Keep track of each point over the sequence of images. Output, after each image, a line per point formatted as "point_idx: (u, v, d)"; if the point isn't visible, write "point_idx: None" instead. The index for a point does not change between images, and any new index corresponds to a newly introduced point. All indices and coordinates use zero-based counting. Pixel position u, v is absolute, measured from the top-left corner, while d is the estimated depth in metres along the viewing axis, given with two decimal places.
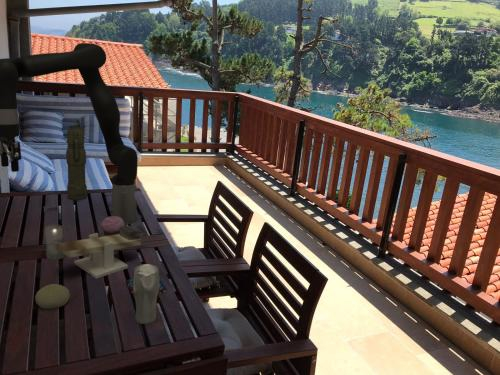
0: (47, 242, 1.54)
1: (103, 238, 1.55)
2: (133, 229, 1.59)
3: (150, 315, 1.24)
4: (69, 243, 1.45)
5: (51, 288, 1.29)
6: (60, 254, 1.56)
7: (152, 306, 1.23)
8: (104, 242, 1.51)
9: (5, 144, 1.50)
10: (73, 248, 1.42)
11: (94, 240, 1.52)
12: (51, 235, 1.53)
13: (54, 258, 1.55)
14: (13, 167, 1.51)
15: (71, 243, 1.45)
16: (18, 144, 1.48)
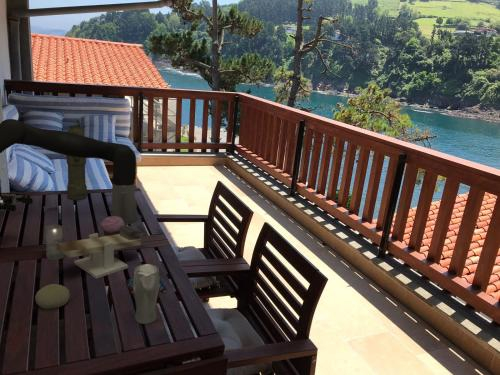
0: (47, 242, 1.54)
1: (103, 238, 1.55)
2: (133, 229, 1.59)
3: (150, 315, 1.24)
4: (69, 243, 1.45)
5: (51, 288, 1.29)
6: (60, 254, 1.56)
7: (152, 306, 1.23)
8: (104, 242, 1.51)
9: None
10: (73, 248, 1.42)
11: (94, 240, 1.52)
12: (51, 235, 1.53)
13: (54, 258, 1.55)
14: (9, 210, 1.51)
15: (71, 243, 1.45)
16: None
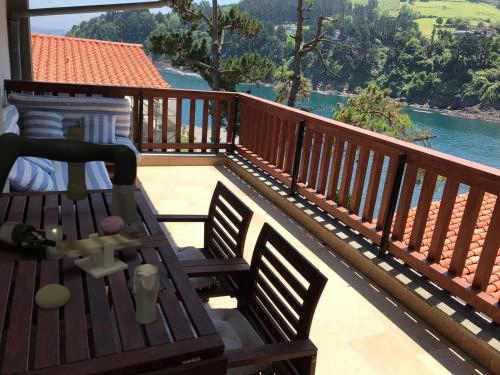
0: None
1: (103, 238, 1.55)
2: (133, 229, 1.59)
3: (150, 315, 1.24)
4: (69, 243, 1.45)
5: (51, 288, 1.29)
6: (60, 254, 1.56)
7: (152, 306, 1.23)
8: (104, 242, 1.51)
9: (32, 242, 1.56)
10: (73, 248, 1.42)
11: (94, 240, 1.52)
12: (51, 235, 1.53)
13: (54, 258, 1.55)
14: (50, 245, 1.53)
15: (71, 243, 1.45)
16: (23, 241, 1.51)
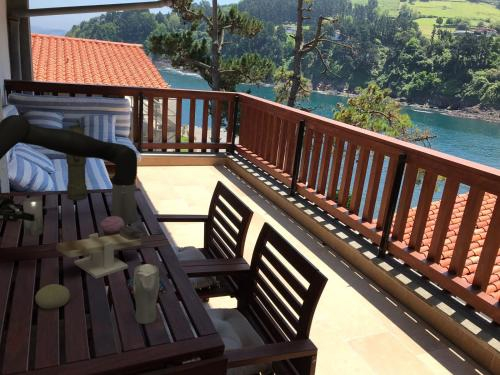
0: None
1: (103, 238, 1.55)
2: (133, 229, 1.59)
3: (150, 315, 1.24)
4: (69, 243, 1.45)
5: (51, 288, 1.29)
6: (39, 229, 1.44)
7: (152, 306, 1.23)
8: (104, 242, 1.51)
9: (9, 216, 1.43)
10: (73, 248, 1.42)
11: (94, 240, 1.52)
12: (30, 209, 1.40)
13: (32, 233, 1.43)
14: (27, 219, 1.40)
15: (71, 243, 1.45)
16: None
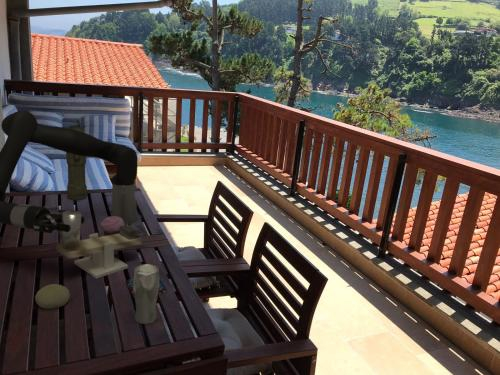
0: None
1: (103, 238, 1.55)
2: (133, 228, 1.59)
3: (150, 315, 1.24)
4: None
5: (51, 288, 1.29)
6: (76, 243, 1.42)
7: (152, 306, 1.23)
8: (104, 242, 1.51)
9: (46, 226, 1.41)
10: (73, 249, 1.42)
11: (94, 240, 1.52)
12: (69, 221, 1.39)
13: (70, 247, 1.41)
14: (63, 230, 1.37)
15: None
16: (35, 225, 1.36)
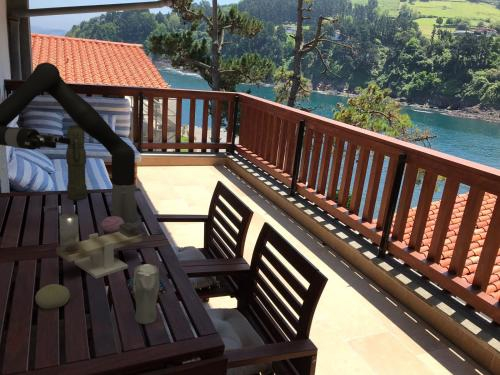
0: (62, 233, 1.40)
1: (103, 237, 1.55)
2: (132, 226, 1.59)
3: (150, 315, 1.24)
4: None
5: (51, 288, 1.29)
6: (76, 246, 1.42)
7: (152, 306, 1.23)
8: (104, 242, 1.51)
9: None
10: (73, 252, 1.42)
11: (94, 241, 1.52)
12: (67, 225, 1.39)
13: (69, 250, 1.41)
14: (50, 147, 1.56)
15: None
16: (25, 141, 1.55)
